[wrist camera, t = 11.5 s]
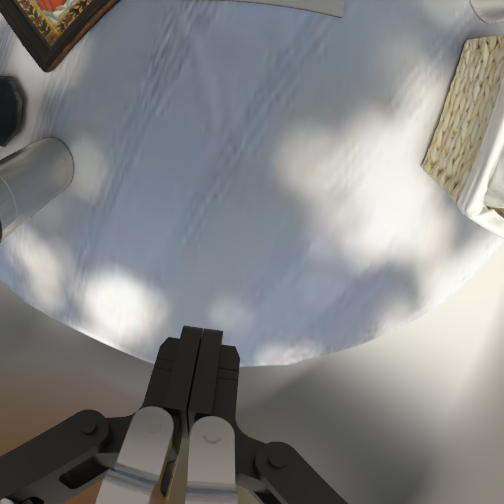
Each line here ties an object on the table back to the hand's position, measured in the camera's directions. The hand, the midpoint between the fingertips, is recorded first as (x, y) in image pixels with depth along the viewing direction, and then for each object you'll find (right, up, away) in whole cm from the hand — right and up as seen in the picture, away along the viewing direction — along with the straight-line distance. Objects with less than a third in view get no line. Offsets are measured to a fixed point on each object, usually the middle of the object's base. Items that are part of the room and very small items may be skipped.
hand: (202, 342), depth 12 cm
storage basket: (+35, +22, +22) cm, 47 cm away
